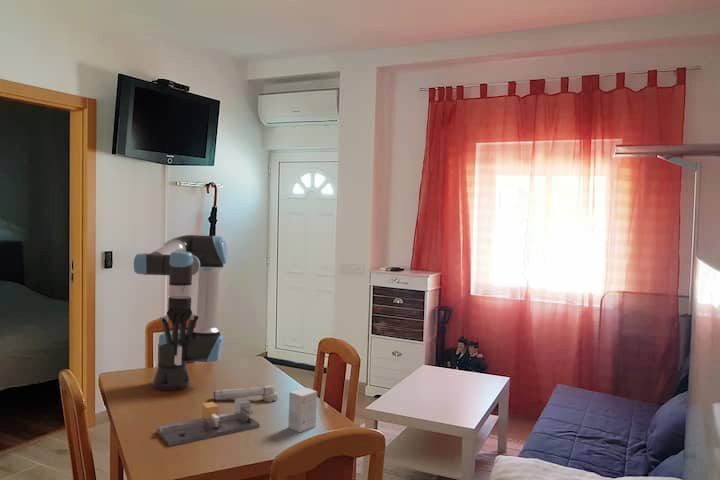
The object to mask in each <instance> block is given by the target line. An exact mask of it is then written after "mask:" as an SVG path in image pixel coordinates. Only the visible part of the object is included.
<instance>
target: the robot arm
mask: <svg viewBox="0 0 720 480" xmlns="http://www.w3.org/2000/svg"><path fill="white" fill-rule="evenodd" d="M228 258H229V256H228V246H227V241H226V239H225V238H224V237H222V236H217V235H199V234H198V235H196V234H195V235H194V234H186V235H181V236H177V237H174V238H171V239H169V240H167V241H165V243H164V244H163V245H162V247H160V248H158V249H155V250H153V251H152V252H150V253H146V252H144V253H137V254H136V255H135V256H134V258H133V270H134V273H135V274H138V275H144V276H146V275H148V276H149V275H150V276H152V275H153V276H168V277H169V278H168V279H169V280H168V296H169V297H168V302H167V303H168V304H167V308H168V309H167V312H166V314H165V315H164V316H163V317H159V321H160V322H161V324H162V326H163V332H162V333H161V334H160V335H159V337H158V342H157V347H158V348H157V369H156V371H155V374H154V376H153V379H152V387H153V388H154V389H156V390H160V391H176V390H178V391H179V390H183V389H185V388H187V387H189V386H190V384H191V378H190V375H189V371H188V367H187V362H188V363H189V362H190V363H193V362H194V363H207V364H208V363H216V362H218V361H219V360H220V359H221V354H222V351H223V347H224V338H225V337H224V335H223V334H221V330H220V328H219V327H218V309H219V308H218V307H219V291H220V290H219V289H220V287H219V285H220V271H222V269H223V268H224V265H225V264H227V263H228ZM197 273H198V280H197V281H198V282H197V298H196V299H197V302H196V303H197V305H196V314H194V313H193V311H192V297H191V296H192V293H193V292H192V290H193V289H192V288H193V276H194V275H195V274H197ZM169 321H170V322H171V326H172V328H171V329H172V330H170V325H169ZM187 322H188V326H187ZM186 328H187V329H186Z"/></svg>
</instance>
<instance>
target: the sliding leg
mask: <svg viewBox="0 0 720 480" xmlns="http://www.w3.org/2000/svg"><path fill="white" fill-rule="evenodd" d="M200 415H201V418H205V419H206V420H212V419H213V420H214V421H215V427H218V421H219V419H220V418H219V417H218V415H219V405H217V404H216V403H215V402H214V401H209V402H204V403H203V402H202V403H201V414H200Z"/></svg>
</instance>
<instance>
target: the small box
mask: <svg viewBox="0 0 720 480" xmlns="http://www.w3.org/2000/svg"><path fill="white" fill-rule="evenodd" d="M288 401H289V402H288V426H287V427H288V429H289V430H290V429H291V430H293V431H295V432H298V433H302V432H305V431H308V430H310V429H312V428H315V427H317V410H318V409H317V406H318V402H317V401H318V391H317V390H314V389H312V388H309V387H302V388H299V389H296V390H295V389H294V390H292V391H289V397H288Z"/></svg>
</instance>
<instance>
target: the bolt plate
mask: <svg viewBox="0 0 720 480" xmlns="http://www.w3.org/2000/svg"><path fill="white" fill-rule="evenodd" d="M251 403H252V402H251V401H250V400H249V399H247V397H243V398H235V399H234V411H233V412H227V413H221V414H218V417H219V418H220V419H219V421H218V427H215V421H214V420H213V419H212V420H206V419H205V418H203V417H201V418H196V419H190V420H189V419H188V420H185V421H180V422H179V421H178V422H174V423H168V424H164V425H159V428H156V429H155V433H156V434H157V435H158V436H159V437H160V438H161V440H162V441H163V442H164V443H165V444H166V445H167V446H168V447H173V446H177V445H178V446H179V445H184V444H188V443H192V442H196V441H201V440H206V439H211V438H215V437H220V436H225V435H229V434H235V433H238V432H243V431H248V430H253V429H257V428H260V427H261V426H260V423H259V422H258V421H257V420H255V419H253V417H252V415H254V413H253V410H252V409H251V408H252V407H251V406H252V405H251Z"/></svg>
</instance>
